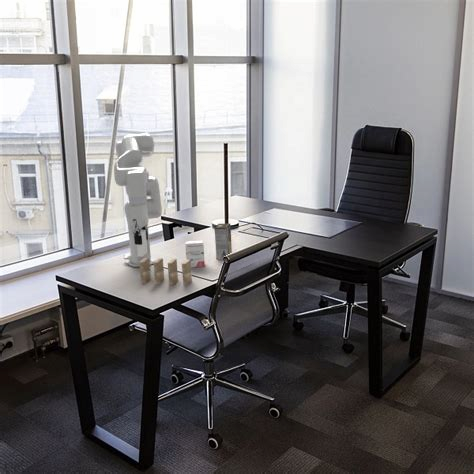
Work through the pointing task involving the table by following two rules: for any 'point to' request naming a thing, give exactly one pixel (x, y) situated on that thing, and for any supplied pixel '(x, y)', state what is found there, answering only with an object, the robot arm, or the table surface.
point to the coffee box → (223, 240)
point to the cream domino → (142, 248)
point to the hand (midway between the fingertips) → (141, 241)
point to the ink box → (195, 253)
